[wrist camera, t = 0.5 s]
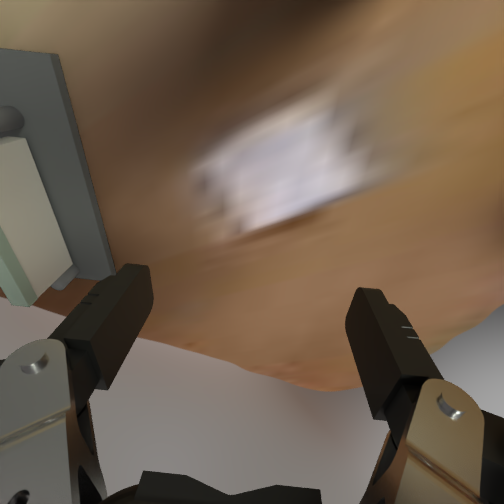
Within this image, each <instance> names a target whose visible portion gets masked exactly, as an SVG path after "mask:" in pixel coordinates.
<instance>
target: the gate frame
mask: <svg viewBox="0 0 504 504" xmlns="http://www.w3.org/2000/svg"><path fill="white" fill-rule="evenodd" d="M7 136H10V137H20V138H26V141H27V144H28V146H29V149H30V152H31V154H32V157H33V159H34V162H35V165H36V167H37V170H38V173H39V175H40V178H41V181H42V183H43V186H44V189H45V191H46V194H47V197H48V199H49V202H50V204H51V207H52V210H53V212H54V215H55V218H56V220H57V223H58V226H59V228H60V231H61V234H62V236H63V239H64V242H65V244H66V247H67V249H68V252H69V255H70V257H71V260H72V263H73V264H72V265H71V266H70V267H69V268H68V269H67V270H66V271H65V272H64V273H63V274H62V275H61V276H60V277H59V278H58V279H57V280H56V281H55V282H54V283H53V284H52V285H51V287H52V288H54V289H56V290H63V289H64V288H65V287H66V286H67V285H68V284H69V283H70V282H71V281H72V280H73V279H74V278H81V279H90V280H99V281H101V280H103V279H105V278H106V277H108V276H110V275H116V271H115V267H114V263H113V259H112V256H111V252H110V248H109V244H108V241H107V237H106V233H105V229H104V226H103V222H102V218H101V214H100V210H99V207H98V203H97V199H96V195H95V192H94V188H93V184H92V180H91V177H90V173H89V169H88V165H87V162H86V158H85V154H84V150H83V147H82V143H81V139H80V135H79V132H78V128H77V124H76V120H75V117H74V113H73V109H72V105H71V102H70V98H69V94H68V90H67V87H66V83H65V79H64V75H63V71H62V68H61V64H60V60H59V56H58V54H49V53H40V52H31V51H22V50H13V49H3V48H0V138H3V137H7Z"/></svg>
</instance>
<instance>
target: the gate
mask: <svg viewBox="0 0 504 504" xmlns="http://www.w3.org/2000/svg"><path fill="white" fill-rule="evenodd" d="M72 264H73V263H72V260H71V257H70V255H69V252H68V249H67V247H66V244H65V242H64V239H63V236H62V234H61V231H60V228H59V226H58V223H57V220H56V218H55V215H54V212H53V210H52V207H51V204H50V202H49V199H48V197H47V194H46V191H45V189H44V186H43V183H42V181H41V178H40V175H39V173H38V170H37V167H36V165H35V162H34V159H33V157H32V154H31V152H30V149H29V146H28V144H27V141H26V138H20V137H10V136H7V137H3V138H0V287H1V288H2V290H3V292H4V293H5V295H6V297H7V298H8V300H9V301H10V303H11V305H16V306H25V307H30V306H31V305H32V304H33V303H34V302H35V301H36V300H37V299H38V297H39V296H40V295H41V294H42V293H43V292H44V291H46V290H47V289H48V288H49V287H50V286H51V285H52V284H53V283H54V282H55V281H56V280H57V279H58V278H59V277H60V276H61V275H62V274H63V273H64V272H65V271H66V270H67V269H68V268H69V267H70V266H71V265H72Z"/></svg>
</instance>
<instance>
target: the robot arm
mask: <svg viewBox="0 0 504 504" xmlns="http://www.w3.org/2000/svg"><path fill="white" fill-rule="evenodd" d="M153 299H154V298H153V290H152V283H151V277H150V270H149V267H148V266H147V265H139V264H129V263H127V264H125V265H124V266H123V267H122V268H121V269H120V270H119V272H118V273H117V274H116V275H110V276H108V277H106V278H105V279H103V280H101V281H100V282H98V283H97V284H96V285H95V286H94V287H93V288H92V289H91V290H90V292H89V293H88V295H86V296H85V297H84V298H83V299H82V300H81V302H80V304H78V305H77V306H76V307H75V308H74V309H73V311H72V312H71V313H70V314H69V315H68V316H67V317H66V318H65V319H64V321H63V322H62V323H61V324H60V325H59V326H58V327H57V328H56V329H55V331H54V332H53V333H52V334H51V335H50V336H49V337H48V338H47V339H43V340H37V341H34V342H31V343H28V344H26V345H24V346H22V347H21V348H19V349H17V350H16V351H15V352H13V353H12V354H11V355H10V356H8V358H7V359H3V360H0V504H322V501H321V493H320V490H319V489H310V488H301V487H291V486H282V485H274V486H270V487H265V488H261V489H257V490H253V491H249V492H244V493H240V494H236V495H227V494H225V493H223V492H221V491H219V490H216V489H214V488H212V487H210V486H208V485H206V484H204V483H202V482H200V481H198V480H195V479H193V478H191V477H189V476H187V475H180V474H170V473H161V472H152V471H143V473H142V476H141V479H140V482H139V484H138V485H133V486H131V487H128V488H125V489H123V490H120V491H118V492H116V493H115V494H113V495H111V496H109V497H107V491H106V486H105V482H104V478H103V474H102V471H101V468H100V464H99V460H98V455H97V447H96V441H95V434H94V428H93V422H92V415H91V409H90V403H89V398H90V396H91V394H92V393H93V391H94V389H101V390H108V389H109V388H110V386H111V384H112V382H113V380H114V378H115V376H116V375H117V372H118V371H119V369H120V367H121V365H122V363H123V361H124V360H125V358H126V356H127V354H128V352H129V351H130V349H131V347H132V345H133V343H134V341H135V339H136V338H137V336H138V334H139V332H140V330H141V328H142V327H143V325H144V323H145V321H146V319H147V317H148V315H149V314H150V312H151V309H152V306H153ZM345 329H346V334H347V337H348V340H349V343H350V346H351V350H352V353H353V356H354V359H355V362H356V366H357V369H358V372H359V375H360V378H361V382H362V385H363V388H364V391H365V394H366V398H367V401H368V404H369V407H370V410H371V414H372V417H373V419H374V420H384V421H387V422H388V425H389V428H390V430H389V432H388V434H387V436H386V439H385V441H384V444H383V447H382V449H381V452H380V455H379V457H378V460H377V463H376V465H375V468H374V471H373V473H372V476H371V479H370V481H369V484H368V487H367V489H366V492H365V494H364V496H363V498H362V499H361V501H360V503H359V504H504V418H502V417H499V416H497V415H494V414H492V413H489V412H486V411H484V410H481V409H480V408H479V407H478V405H477V404H476V402H475V401H474V400H473V399H472V398H471V397H470V396H469V395H468V394H467V393H466V392H465V391H463V390H462V389H461V388H459V387H458V386H456V385H454V384H452V383H450V382H448V381H445V380H444V378H443V377H442V375H441V373H440V372H439V370H438V369H437V367H436V365H435V363H434V362H433V360H432V359H431V357H430V355H429V353H428V352H427V350H426V348H425V347H424V345H423V343H422V342H421V340H419V337H418V335H417V333H416V332H415V330H414V329H413V327H412V325H411V323H410V322H409V320H408V318H407V317H406V315H405V314H404V313H403V312H402V311H400V310H399V309H398V308H397V307H396V306H395V305H394V304H389V303H388V301H387V300H386V298H385V296H384V294H383V292H382V291H381V290H380V289H371V288H361V287H359V288H357V290H356V292H355V294H354V297H353V300H352V302H351V305H350V308H349V310H348V313H347V316H346V320H345Z"/></svg>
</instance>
